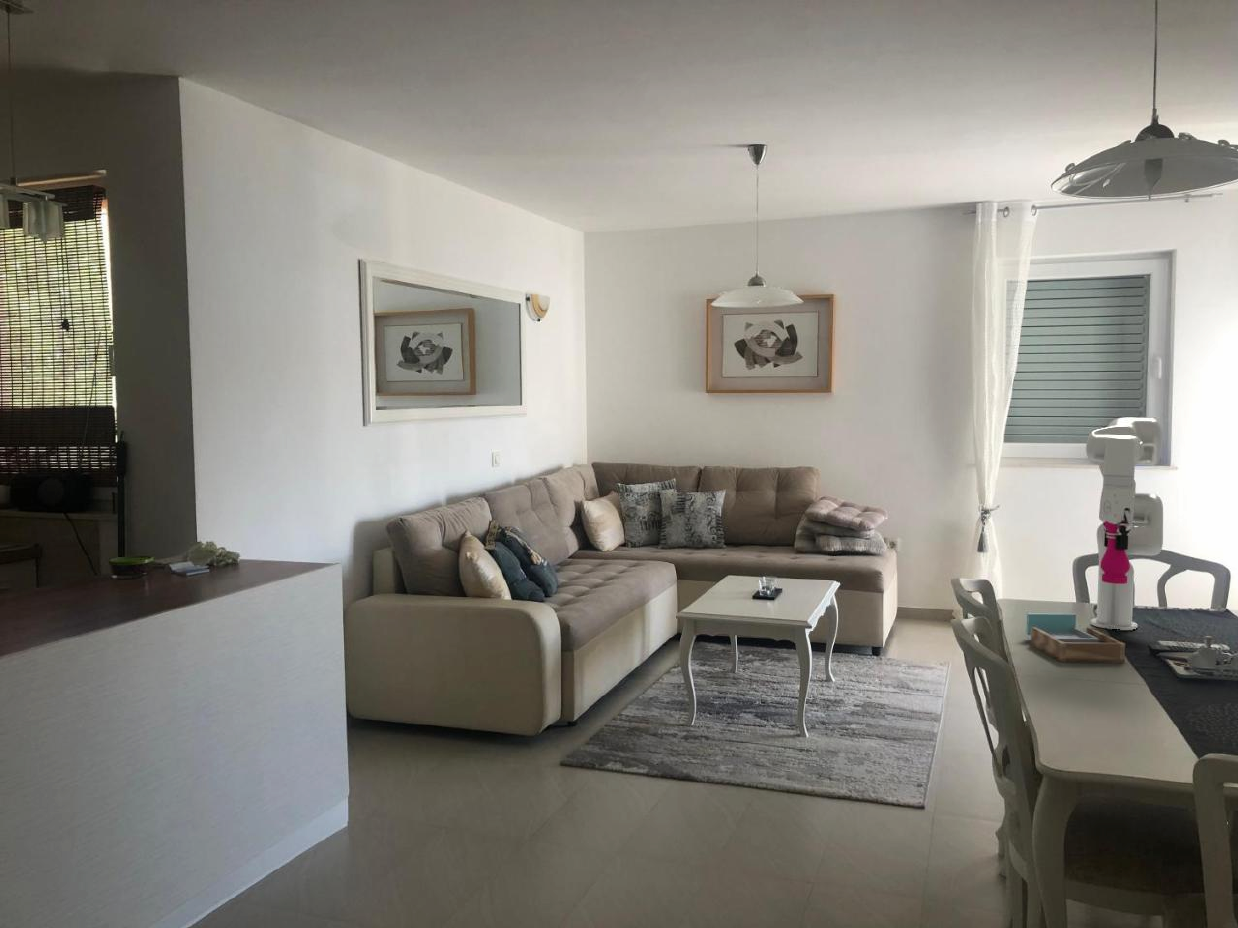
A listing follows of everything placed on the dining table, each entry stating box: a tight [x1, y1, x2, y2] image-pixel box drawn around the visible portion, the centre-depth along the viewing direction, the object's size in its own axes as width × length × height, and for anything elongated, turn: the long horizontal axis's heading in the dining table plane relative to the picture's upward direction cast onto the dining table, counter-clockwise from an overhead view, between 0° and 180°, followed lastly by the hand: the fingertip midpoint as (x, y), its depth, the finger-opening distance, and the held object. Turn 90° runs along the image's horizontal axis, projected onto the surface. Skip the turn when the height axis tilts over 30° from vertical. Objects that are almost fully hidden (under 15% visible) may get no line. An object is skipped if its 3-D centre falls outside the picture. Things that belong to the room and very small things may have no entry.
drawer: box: [1025, 612, 1100, 643], centre depth 271 cm, size 16×13×6 cm
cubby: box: [1030, 627, 1126, 664], centre depth 263 cm, size 18×16×5 cm
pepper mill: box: [1100, 521, 1131, 584], centre depth 270 cm, size 7×7×20 cm
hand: (1115, 547), depth 270 cm, fingers closed on pepper mill, 5 cm apart
